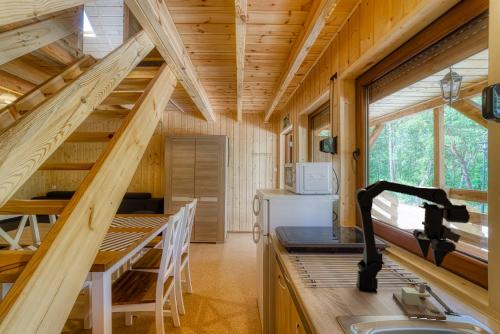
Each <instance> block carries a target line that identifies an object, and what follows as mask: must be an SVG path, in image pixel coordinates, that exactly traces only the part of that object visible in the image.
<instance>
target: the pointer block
mask: <svg viewBox="0 0 500 334" xmlns="http://www.w3.org/2000/svg"><path fill="white" fill-rule="evenodd" d="M401 294H402V300H403V301H404V302H405V303H406V304H408V305H418V306H419V296H420V297H427V298H431V294H430V293H425V294H424V293H419V292H418V291H417V290H416V289H415V288H414V287H411V288H410V287H401Z"/></svg>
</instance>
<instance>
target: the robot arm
mask: <svg viewBox="0 0 500 334" xmlns="http://www.w3.org/2000/svg"><path fill="white" fill-rule="evenodd" d="M384 191H387V192H393V193H397V194H402V195H407V196H412V197H417V198H419V199H421V200H425V201H423V202H422V203H421V204H419V205H418V208H421V209H424V221H421V225H422V226H423V229H418V228H416V229H414V230H413V231H412V234H413V235H412V236H413V237H414V239H415V241H416V243H417V246H418V247H419V249H420V253H421V254H422V257H423V258H424V259H427V258H428V256H429V249H430V250H431V253H432V254H431V255H432V257H433V260H434V264H435V266H436V267H438V268H440V267H441V265H442V263H443V261H444V260H445V258H446V256H447V255H448V254H450V253H453V252H456V251H457V245H456V244H458V243H459V240H460V238H461V235H460V234H458V233H456V232H453V231H451V227H448V226H446V225H445V224H444V220H445V221H446V222H448V223H458V224H467V223H469V221H470V218H471V217H470V216H471V215H470V214H469V210H468V209H467V205H466V204H462V203H459V204H453V203H452V201H450V199H449V198H448V194H447V192H446V191H445V189H443V188H441V187H440V188H439V187H434V186H433V187H432V186H412V185H408V184H403V183H399V182H394V181H393V182H392V181H388V180H386V179H378V180H377V181H376V182H374V183H372V184H370V185H367V186H366V187H364V188H359V189H357V190H355V192H354V195H353V197H354V199H355V203H356V206H357V208H358V211H359V217H360V223H361V230H362V238H363V243H364V247H363V252H362V253H363V255H362V259H361V260H360V261H358V262H357V267H358V270H357V282H356V283H355V284H356V287H357V289H358V290H359V292H364V293H375V294H378V287H379V286H378V283H379V282H378V281H379V280H378V278H377V275H378V273H379V272H381V270H382V269H383V265H385V263H384V261H383V253H382V251H380V249H379V248H378V249H377V246H376V238H375V230H374V224H373V218H372V217H373V216H372V210H373V200H374V199H375V198H377V197H379V195H380V194H382V193H383V192H384ZM428 202H430V203H428ZM432 203H433V204H432ZM430 245H431V247H430Z"/></svg>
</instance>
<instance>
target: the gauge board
mask: <svg viewBox="0 0 500 334" xmlns="http://www.w3.org/2000/svg"><path fill="white" fill-rule="evenodd" d="M425 285H426V284H425V283H422V282H421V283H419V286H418V288H419V289H418V290H419V292H418V293H424V294H426V293H425V291H426V287H425ZM392 298H393V299H394V300H395V302H396V303H397V305H398V306H399V307H400V309H401V310H402V312H403V313H404V314H405V315H406V317H407V316H408V317H417V318H427V319H436V320H446V321H447V316H446V314H445V313H443V312H442V311H441V310H440V309H439V308H438V307H437V306H436V305H435V304H434V303H433V302H432V301H431V299H429V297H420V296H419V306H418V305H408V304H406V303H405V302H404V301H403V300H402V293H396V292H393V293H392ZM408 317H407V318H408Z"/></svg>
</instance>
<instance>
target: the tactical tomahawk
mask: <svg viewBox="0 0 500 334" xmlns="http://www.w3.org/2000/svg"><path fill="white" fill-rule="evenodd" d="M425 290H426V291H427V292H428V294H430V296H432V297H433V298H434V299H435V300H436V301H437V303H439V304H440V305H441V306H442V308H444V309H445V310H444V313H443V314H444V315H447V316H456V317H461V318H462V315H460V314H459V313H458V312H454V311H453V309H451V308H450V307H449V306H448V305H447V304H446V303H445V302H444V301H443V300H442V299H441V298H440V297H439V296H438V295H437V294H436V293H435V292H433V290H432V288H431V286H429V285H427V284H425Z"/></svg>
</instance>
